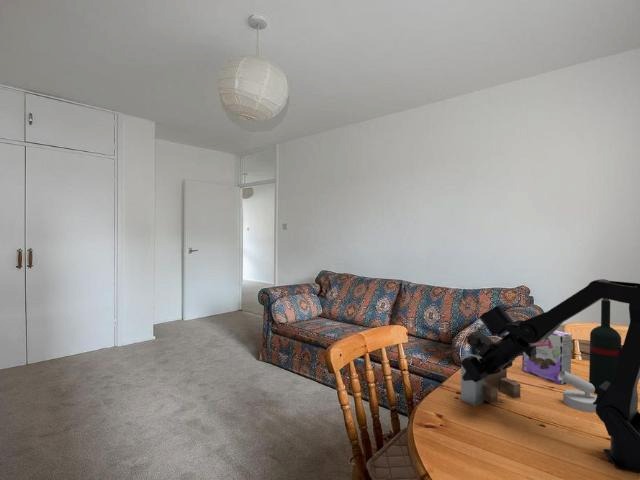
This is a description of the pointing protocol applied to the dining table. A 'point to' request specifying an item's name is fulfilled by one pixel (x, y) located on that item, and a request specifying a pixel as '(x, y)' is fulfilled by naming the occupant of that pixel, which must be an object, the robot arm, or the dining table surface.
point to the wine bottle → (604, 349)
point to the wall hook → (578, 393)
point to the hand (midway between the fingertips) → (468, 377)
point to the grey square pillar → (471, 387)
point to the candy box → (550, 357)
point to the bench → (500, 386)
